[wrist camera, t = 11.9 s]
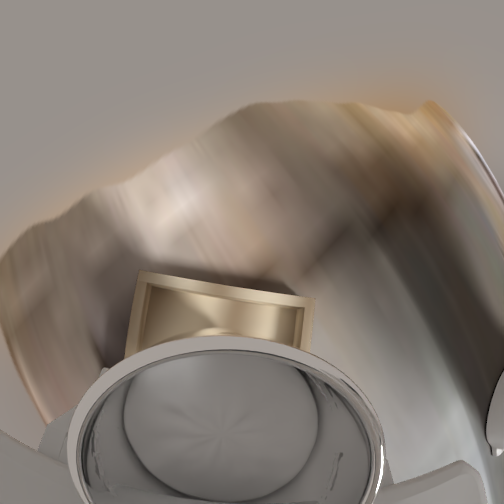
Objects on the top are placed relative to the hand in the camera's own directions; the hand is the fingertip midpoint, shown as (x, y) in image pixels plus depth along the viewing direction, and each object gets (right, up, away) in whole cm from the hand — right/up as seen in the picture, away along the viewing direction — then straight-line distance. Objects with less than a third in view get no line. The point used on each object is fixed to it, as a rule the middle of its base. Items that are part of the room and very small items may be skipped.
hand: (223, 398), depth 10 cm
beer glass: (-1, -3, +8) cm, 9 cm away
